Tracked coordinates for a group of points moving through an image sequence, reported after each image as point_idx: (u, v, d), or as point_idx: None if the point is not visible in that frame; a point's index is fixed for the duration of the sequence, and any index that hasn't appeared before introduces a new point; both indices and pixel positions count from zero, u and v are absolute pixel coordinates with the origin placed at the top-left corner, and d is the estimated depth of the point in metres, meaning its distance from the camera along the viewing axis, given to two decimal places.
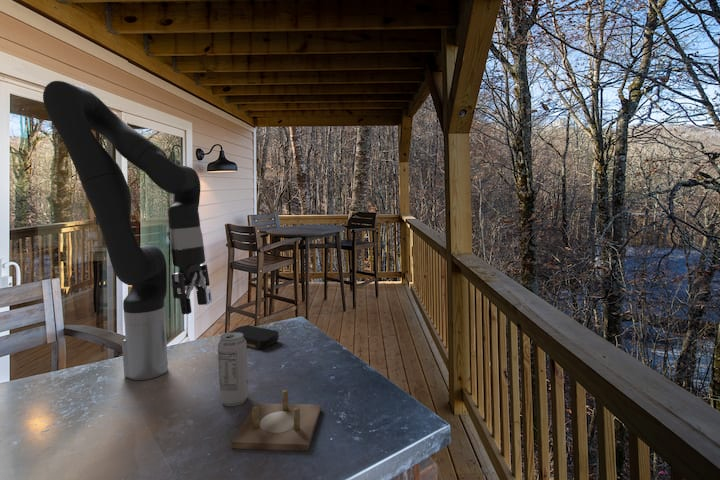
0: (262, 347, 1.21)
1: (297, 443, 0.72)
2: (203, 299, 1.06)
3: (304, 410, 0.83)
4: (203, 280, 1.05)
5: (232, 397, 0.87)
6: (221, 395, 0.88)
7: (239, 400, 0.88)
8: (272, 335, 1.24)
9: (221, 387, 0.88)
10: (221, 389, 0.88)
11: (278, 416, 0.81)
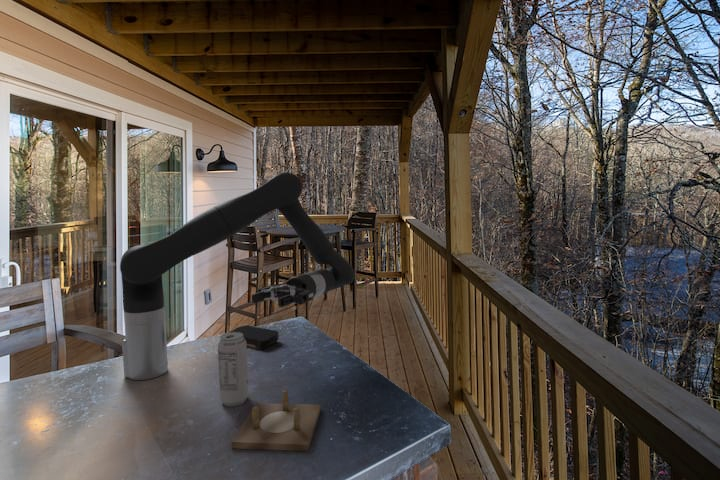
0: (262, 347, 1.21)
1: (297, 443, 0.72)
2: (257, 300, 1.01)
3: (304, 410, 0.83)
4: (275, 299, 1.05)
5: (232, 397, 0.87)
6: (221, 395, 0.88)
7: (239, 400, 0.88)
8: (272, 335, 1.24)
9: (221, 387, 0.88)
10: (221, 389, 0.88)
11: (278, 416, 0.81)
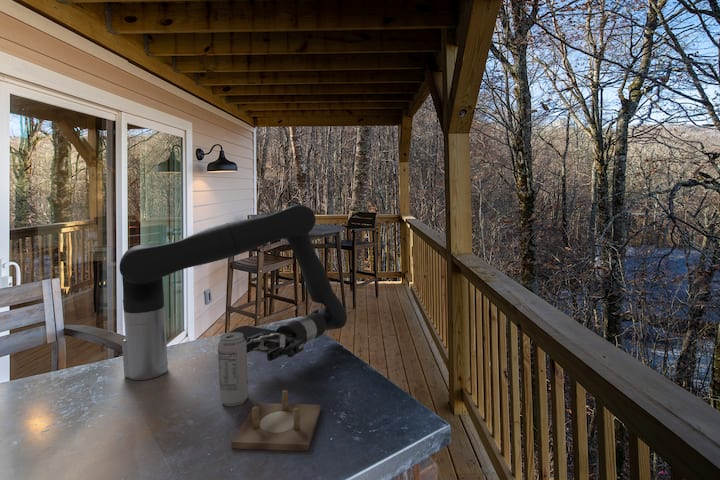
0: None
1: (297, 443, 0.72)
2: None
3: (304, 410, 0.83)
4: None
5: (232, 397, 0.87)
6: (221, 395, 0.88)
7: (239, 400, 0.88)
8: None
9: (221, 387, 0.88)
10: (221, 389, 0.88)
11: (278, 416, 0.81)
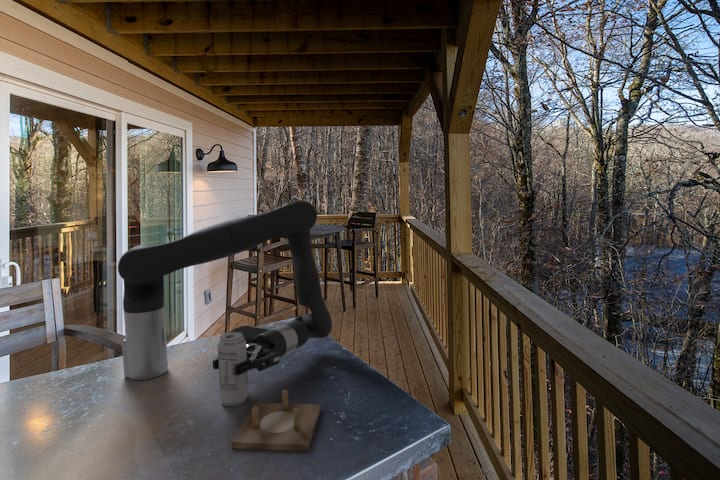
0: None
1: (297, 443, 0.72)
2: None
3: (304, 410, 0.83)
4: None
5: (232, 397, 0.87)
6: (221, 395, 0.88)
7: (239, 400, 0.88)
8: None
9: (221, 387, 0.88)
10: (221, 389, 0.88)
11: (278, 416, 0.81)
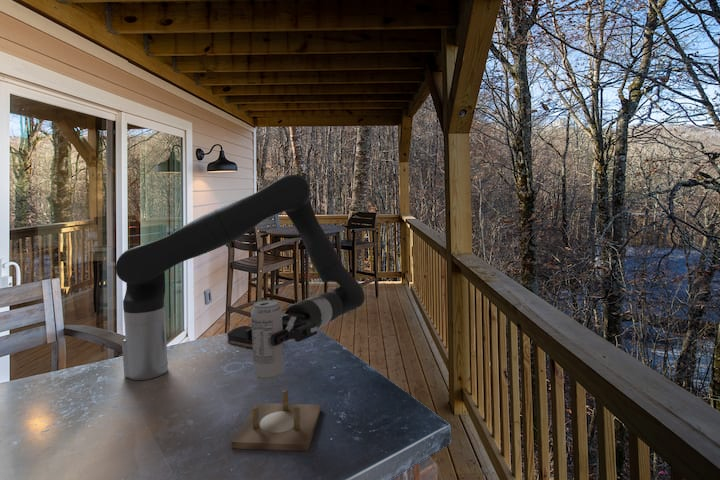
0: None
1: (297, 443, 0.72)
2: None
3: (304, 410, 0.83)
4: None
5: (268, 370, 0.78)
6: (255, 369, 0.79)
7: (276, 374, 0.79)
8: None
9: (255, 360, 0.79)
10: (255, 362, 0.79)
11: (278, 416, 0.81)
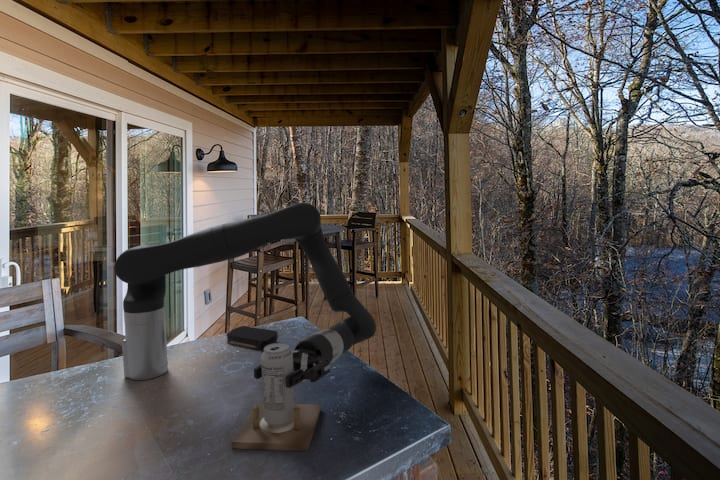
0: (263, 347, 1.20)
1: (297, 443, 0.72)
2: (261, 374, 0.79)
3: (304, 410, 0.83)
4: None
5: (279, 417, 0.76)
6: (266, 415, 0.77)
7: (287, 421, 0.77)
8: (272, 335, 1.24)
9: (266, 406, 0.77)
10: (266, 409, 0.77)
11: None
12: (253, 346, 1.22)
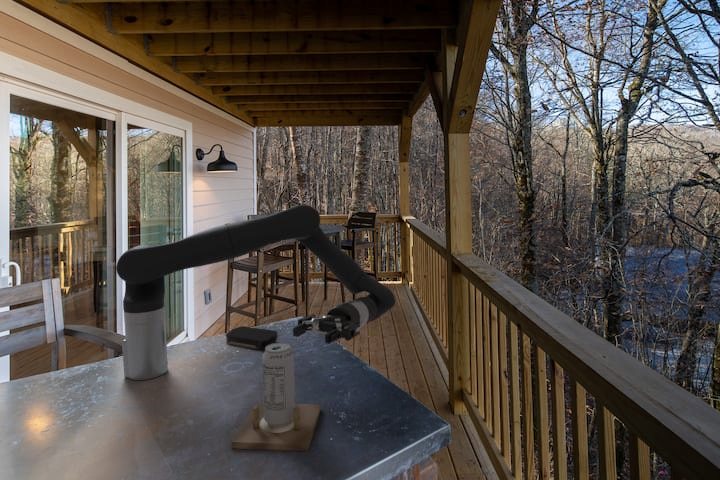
0: (263, 347, 1.20)
1: (297, 443, 0.72)
2: (299, 333, 0.91)
3: (304, 410, 0.83)
4: None
5: (279, 417, 0.76)
6: (266, 415, 0.77)
7: (287, 421, 0.77)
8: (272, 335, 1.24)
9: (266, 406, 0.77)
10: (266, 408, 0.77)
11: None
12: (253, 346, 1.22)
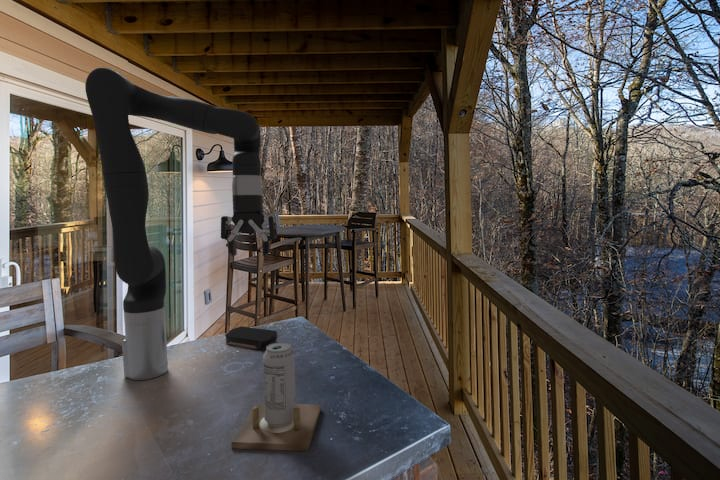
0: (263, 347, 1.20)
1: (297, 443, 0.72)
2: (235, 249, 1.07)
3: (304, 410, 0.83)
4: None
5: (279, 417, 0.76)
6: (266, 414, 0.77)
7: (286, 421, 0.77)
8: (272, 335, 1.24)
9: (266, 405, 0.77)
10: (266, 408, 0.77)
11: None
12: (253, 346, 1.22)
